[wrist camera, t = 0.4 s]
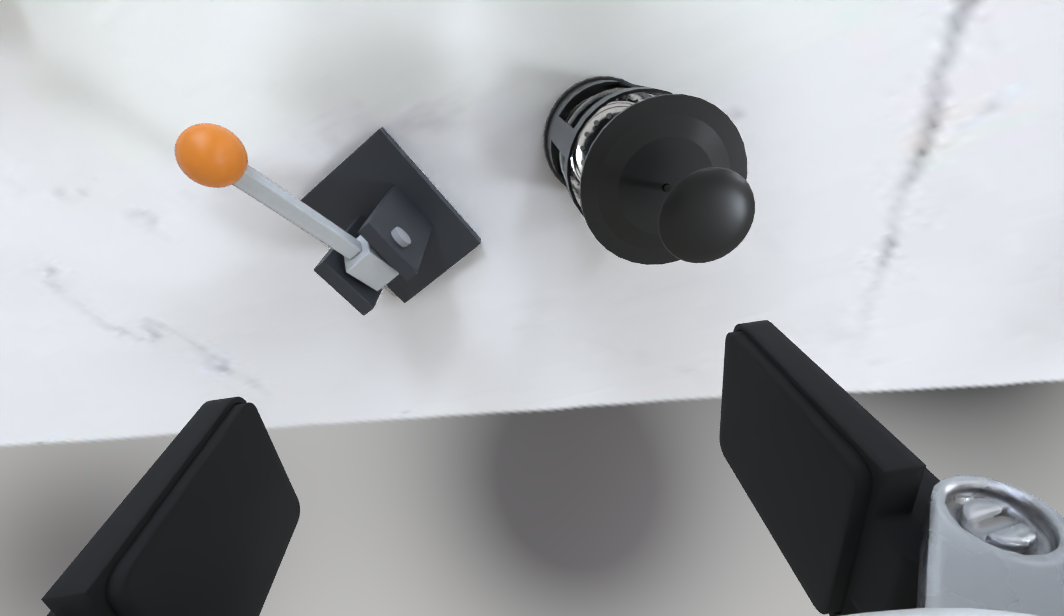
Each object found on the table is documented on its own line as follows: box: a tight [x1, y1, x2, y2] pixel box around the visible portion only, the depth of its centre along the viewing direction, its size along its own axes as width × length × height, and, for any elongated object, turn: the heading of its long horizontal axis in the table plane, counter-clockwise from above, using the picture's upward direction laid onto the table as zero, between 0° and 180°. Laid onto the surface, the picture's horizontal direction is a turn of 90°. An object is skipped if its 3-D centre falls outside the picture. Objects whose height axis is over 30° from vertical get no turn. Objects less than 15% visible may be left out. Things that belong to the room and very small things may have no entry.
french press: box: [544, 77, 755, 265], centre depth 31 cm, size 12×9×23 cm
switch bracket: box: [301, 127, 481, 315], centre depth 38 cm, size 12×9×12 cm
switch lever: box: [175, 123, 399, 291], centre depth 30 cm, size 14×3×3 cm, turn 38°
